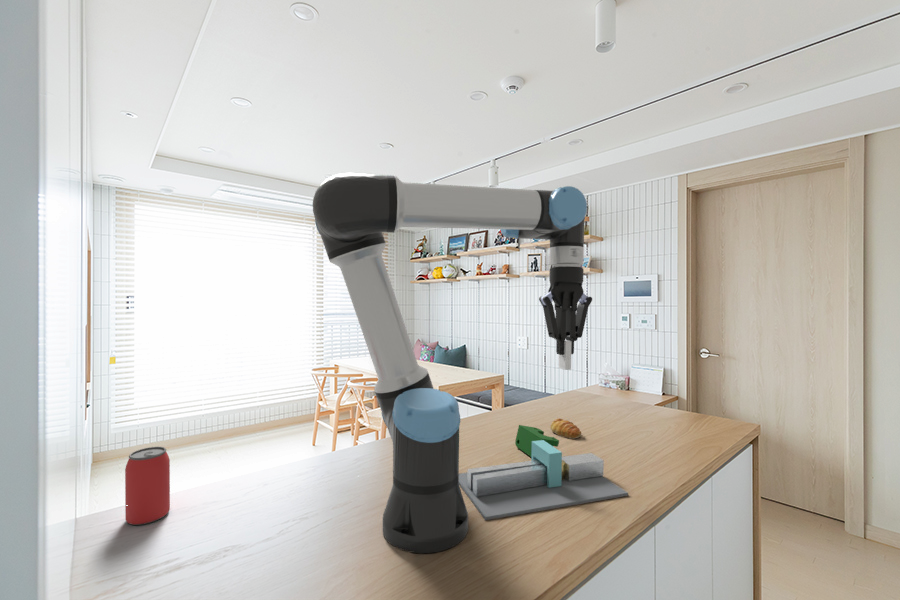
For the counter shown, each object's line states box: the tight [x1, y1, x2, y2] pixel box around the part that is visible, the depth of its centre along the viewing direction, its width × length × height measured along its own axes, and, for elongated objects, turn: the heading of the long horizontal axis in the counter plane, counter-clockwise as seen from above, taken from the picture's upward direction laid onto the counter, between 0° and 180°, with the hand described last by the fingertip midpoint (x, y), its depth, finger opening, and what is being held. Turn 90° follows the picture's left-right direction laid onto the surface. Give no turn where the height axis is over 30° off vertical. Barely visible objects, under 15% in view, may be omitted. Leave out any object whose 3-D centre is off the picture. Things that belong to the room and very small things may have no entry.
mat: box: [459, 471, 629, 521], centre depth 89 cm, size 32×18×1 cm, turn 108°
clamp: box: [515, 424, 560, 457], centre depth 108 cm, size 12×6×9 cm, turn 14°
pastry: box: [550, 418, 582, 440], centre depth 122 cm, size 9×7×4 cm
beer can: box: [124, 446, 171, 526], centre depth 76 cm, size 7×7×12 cm
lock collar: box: [530, 440, 563, 488], centre depth 91 cm, size 3×8×7 cm, turn 18°
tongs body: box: [467, 452, 605, 490], centre depth 90 cm, size 31×4×4 cm, turn 108°
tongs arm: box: [473, 464, 547, 497], centre depth 87 cm, size 19×2×4 cm, turn 110°
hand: (564, 368), depth 95 cm, fingers closed
